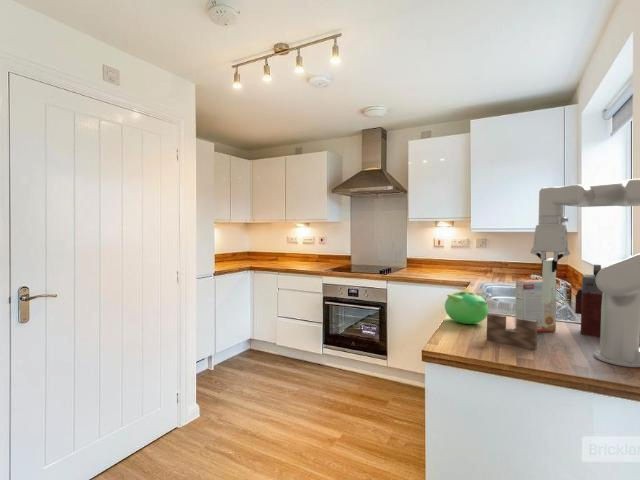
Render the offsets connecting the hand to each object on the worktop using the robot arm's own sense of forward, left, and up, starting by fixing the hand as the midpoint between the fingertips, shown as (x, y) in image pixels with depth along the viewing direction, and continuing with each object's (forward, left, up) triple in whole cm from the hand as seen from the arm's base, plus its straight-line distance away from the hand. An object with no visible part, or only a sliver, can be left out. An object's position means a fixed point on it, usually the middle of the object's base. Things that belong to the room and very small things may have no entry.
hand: (549, 271), depth 126 cm
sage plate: (0, 0, -11) cm, 11 cm away
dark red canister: (-11, -26, -27) cm, 39 cm away
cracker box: (+7, -16, -27) cm, 32 cm away
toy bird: (+32, -7, -27) cm, 43 cm away
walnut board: (+10, +9, -27) cm, 30 cm away
